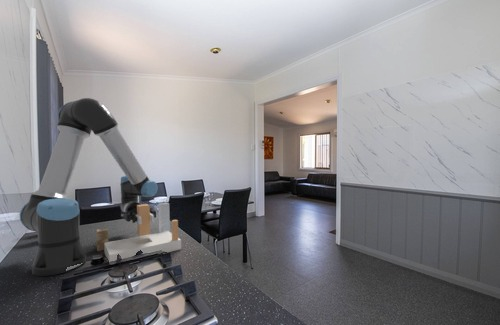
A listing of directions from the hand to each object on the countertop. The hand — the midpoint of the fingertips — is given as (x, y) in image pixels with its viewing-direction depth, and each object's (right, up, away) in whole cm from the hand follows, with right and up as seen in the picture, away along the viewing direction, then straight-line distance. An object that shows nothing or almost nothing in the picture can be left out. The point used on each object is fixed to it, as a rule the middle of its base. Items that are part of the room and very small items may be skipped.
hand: (146, 219), depth 97 cm
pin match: (-3, -7, +5) cm, 9 cm away
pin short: (-22, -14, +8) cm, 27 cm away
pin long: (-1, -13, +23) cm, 27 cm away
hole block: (-3, -14, +4) cm, 15 cm away
